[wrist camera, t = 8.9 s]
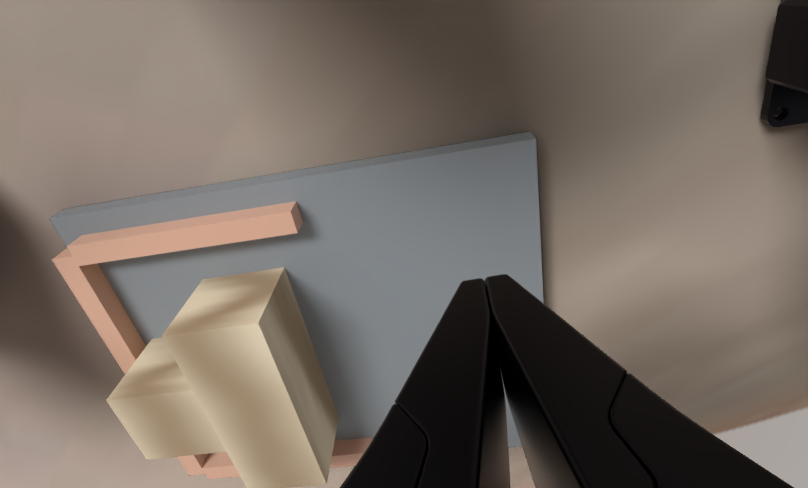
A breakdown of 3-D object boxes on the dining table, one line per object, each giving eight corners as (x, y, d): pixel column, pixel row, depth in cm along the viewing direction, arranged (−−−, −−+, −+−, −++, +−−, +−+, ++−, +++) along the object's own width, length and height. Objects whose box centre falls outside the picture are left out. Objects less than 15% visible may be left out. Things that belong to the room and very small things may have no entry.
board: (530, 131, 19) (541, 146, 17) (546, 429, 28) (554, 459, 26) (64, 209, 22) (32, 229, 20) (211, 461, 30) (198, 490, 28)
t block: (284, 267, 22) (258, 323, 18) (338, 417, 26) (326, 484, 23) (124, 290, 22) (69, 348, 19) (205, 431, 27) (173, 497, 24)
